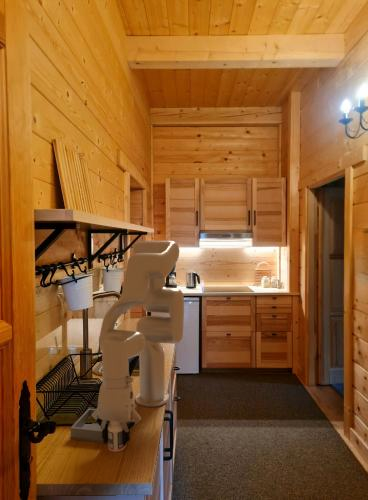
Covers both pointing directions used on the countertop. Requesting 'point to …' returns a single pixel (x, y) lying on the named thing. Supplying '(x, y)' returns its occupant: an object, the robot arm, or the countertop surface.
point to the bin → (87, 429)
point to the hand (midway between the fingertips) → (116, 441)
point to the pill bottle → (115, 436)
